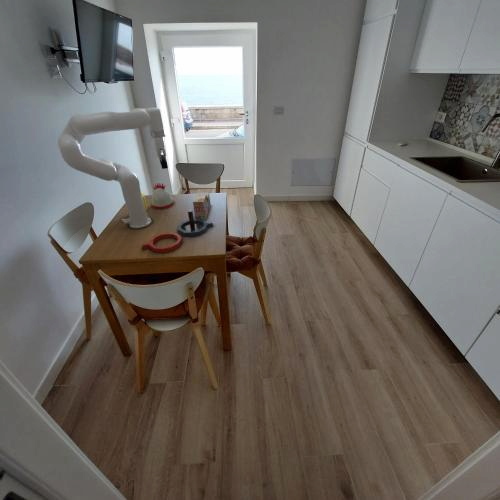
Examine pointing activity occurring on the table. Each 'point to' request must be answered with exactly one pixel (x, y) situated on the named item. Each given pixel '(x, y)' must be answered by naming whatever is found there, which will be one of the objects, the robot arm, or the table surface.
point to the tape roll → (144, 202)
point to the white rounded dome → (161, 197)
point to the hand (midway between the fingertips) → (164, 166)
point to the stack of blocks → (201, 205)
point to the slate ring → (194, 233)
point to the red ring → (163, 249)
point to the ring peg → (192, 223)
